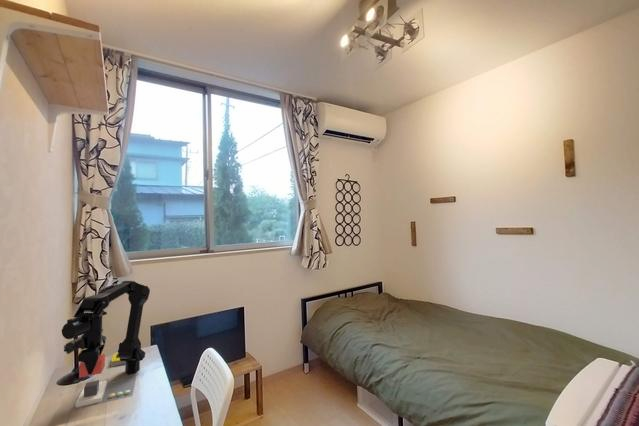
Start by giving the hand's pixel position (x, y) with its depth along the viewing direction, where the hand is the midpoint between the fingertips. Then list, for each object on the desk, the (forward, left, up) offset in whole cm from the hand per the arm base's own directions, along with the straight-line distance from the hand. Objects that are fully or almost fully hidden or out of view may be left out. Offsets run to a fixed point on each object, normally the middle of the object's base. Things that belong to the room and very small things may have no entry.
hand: (92, 370), depth 115 cm
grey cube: (0, 0, -9) cm, 9 cm away
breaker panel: (-2, +4, -12) cm, 13 cm away
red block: (0, 0, -1) cm, 1 cm away
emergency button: (-35, +6, -12) cm, 38 cm away
